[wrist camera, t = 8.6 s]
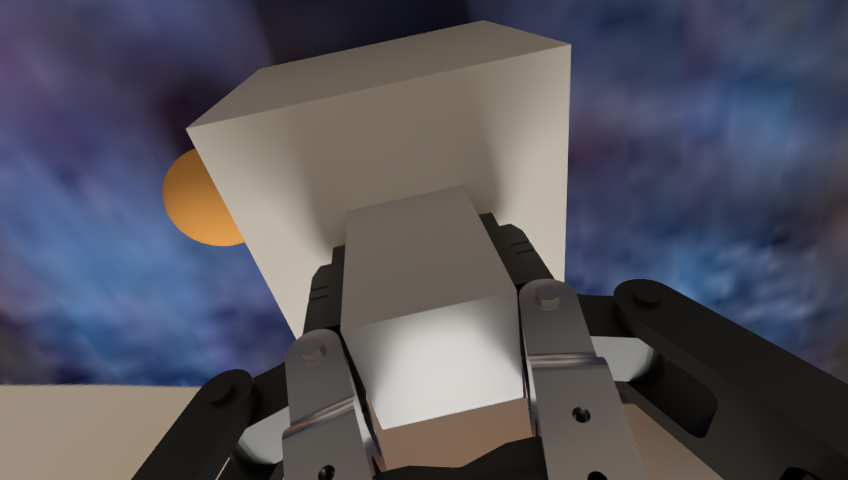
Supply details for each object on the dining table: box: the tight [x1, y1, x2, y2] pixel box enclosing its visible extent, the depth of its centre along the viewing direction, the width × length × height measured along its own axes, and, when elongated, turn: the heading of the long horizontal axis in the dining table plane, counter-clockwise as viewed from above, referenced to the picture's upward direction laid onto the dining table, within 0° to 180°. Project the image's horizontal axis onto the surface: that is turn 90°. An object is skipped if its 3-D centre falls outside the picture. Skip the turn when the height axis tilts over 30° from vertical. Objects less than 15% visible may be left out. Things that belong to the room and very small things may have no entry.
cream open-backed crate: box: [186, 20, 571, 430], centre depth 15 cm, size 10×10×14 cm
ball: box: [163, 148, 245, 246], centre depth 20 cm, size 5×5×5 cm
